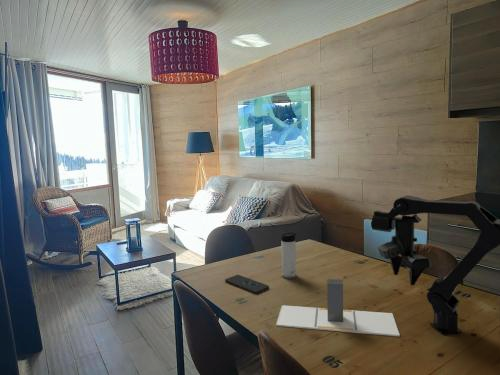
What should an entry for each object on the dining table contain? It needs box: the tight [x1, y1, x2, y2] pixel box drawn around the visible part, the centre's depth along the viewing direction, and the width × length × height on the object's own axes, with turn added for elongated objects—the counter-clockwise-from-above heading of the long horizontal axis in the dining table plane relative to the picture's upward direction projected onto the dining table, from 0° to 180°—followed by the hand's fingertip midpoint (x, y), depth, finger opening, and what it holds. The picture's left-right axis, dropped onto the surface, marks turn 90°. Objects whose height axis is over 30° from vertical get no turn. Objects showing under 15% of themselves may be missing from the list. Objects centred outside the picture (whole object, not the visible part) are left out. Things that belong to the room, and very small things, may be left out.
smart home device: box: [224, 274, 270, 295], centre depth 149 cm, size 8×2×20 cm
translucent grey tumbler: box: [326, 278, 344, 322], centre depth 116 cm, size 5×4×13 cm
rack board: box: [275, 305, 401, 337], centre depth 117 cm, size 38×14×1 cm, turn 77°
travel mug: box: [280, 232, 297, 279], centre depth 156 cm, size 6×7×20 cm
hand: (403, 279), depth 116 cm, fingers open, 9 cm apart
